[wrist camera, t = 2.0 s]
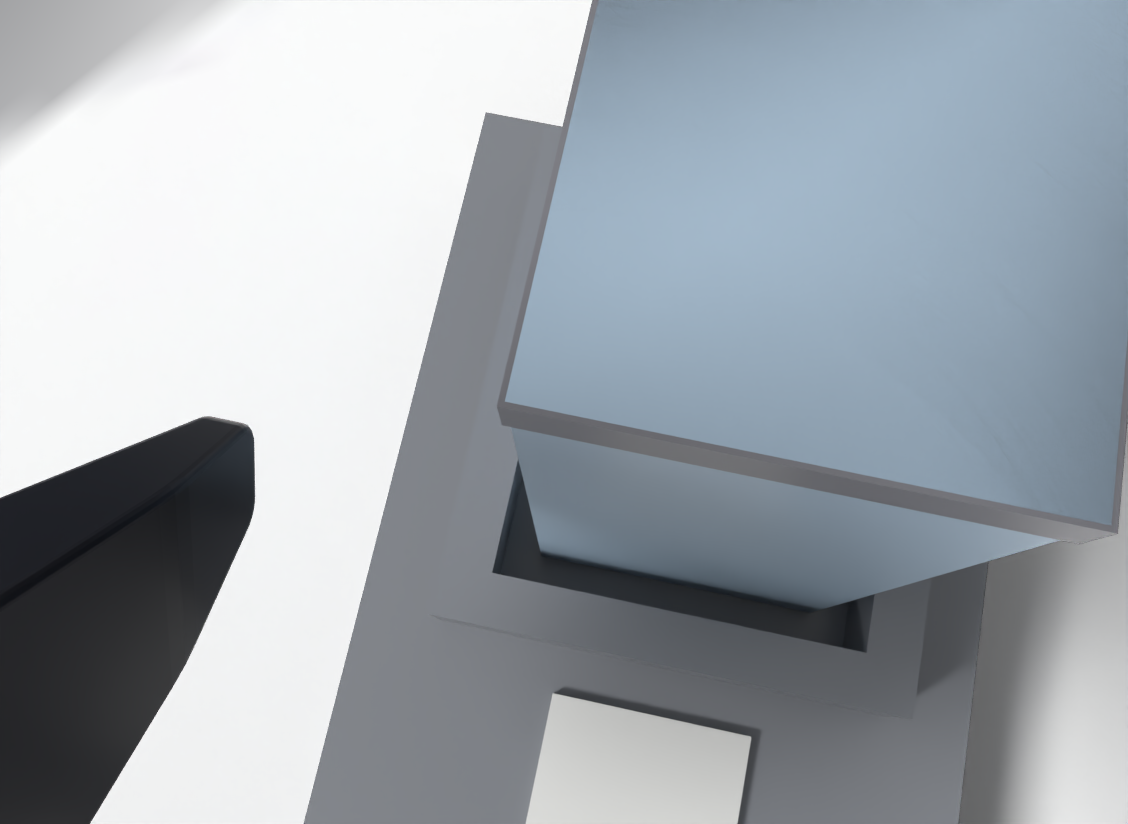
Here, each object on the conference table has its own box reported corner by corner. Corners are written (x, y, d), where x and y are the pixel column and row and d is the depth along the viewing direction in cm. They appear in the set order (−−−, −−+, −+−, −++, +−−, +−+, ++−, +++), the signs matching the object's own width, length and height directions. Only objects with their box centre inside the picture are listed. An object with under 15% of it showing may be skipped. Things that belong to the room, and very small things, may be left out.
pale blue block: (860, 300, 19) (1173, -112, 9) (812, 616, 17) (1117, 533, 8) (604, 250, 19) (639, -201, 9) (538, 557, 18) (495, 406, 8)
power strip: (830, 1431, 17) (908, 1657, 13) (221, 1274, 17) (119, 1445, 13) (976, 267, 22) (1065, 175, 18) (495, 174, 22) (478, 66, 18)
